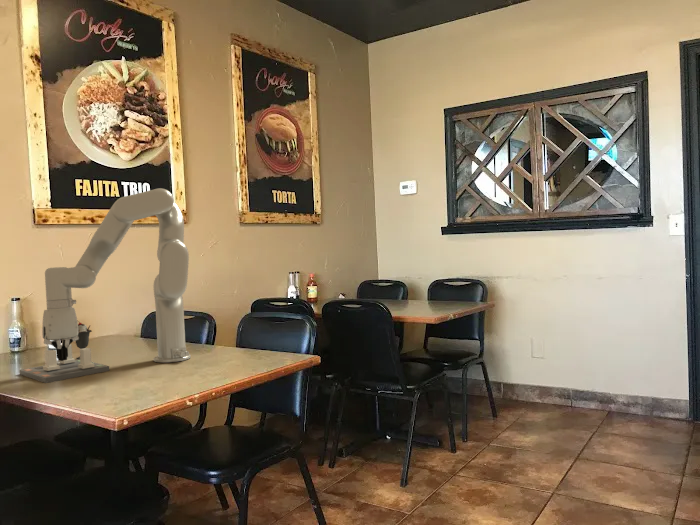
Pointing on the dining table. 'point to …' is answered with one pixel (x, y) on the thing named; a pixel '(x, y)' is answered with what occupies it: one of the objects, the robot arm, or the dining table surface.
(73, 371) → the console
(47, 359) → the breaker mid
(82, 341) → the sundae
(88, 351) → the breaker near
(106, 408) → the dining table surface
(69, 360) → the breaker far
